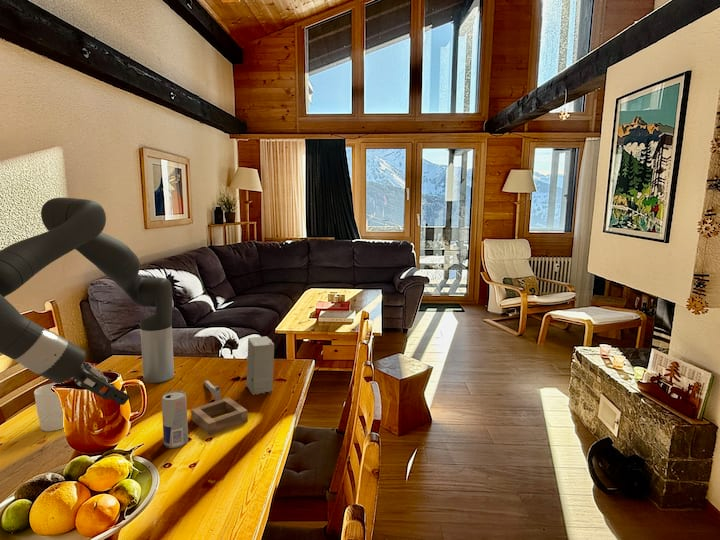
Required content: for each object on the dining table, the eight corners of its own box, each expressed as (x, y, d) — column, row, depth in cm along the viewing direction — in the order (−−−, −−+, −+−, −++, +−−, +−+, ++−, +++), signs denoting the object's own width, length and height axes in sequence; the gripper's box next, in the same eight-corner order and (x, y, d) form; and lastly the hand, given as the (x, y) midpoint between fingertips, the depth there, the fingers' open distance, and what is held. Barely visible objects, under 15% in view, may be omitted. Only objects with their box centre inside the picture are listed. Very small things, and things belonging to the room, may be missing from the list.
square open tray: (191, 419, 112) (191, 409, 112) (228, 407, 120) (228, 397, 119) (209, 435, 105) (209, 424, 104) (247, 420, 112) (247, 410, 112)
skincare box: (246, 385, 134) (244, 337, 132) (268, 381, 137) (267, 334, 135) (252, 396, 127) (251, 345, 124) (275, 392, 130) (275, 342, 128)
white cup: (30, 429, 106) (26, 391, 105) (61, 415, 114) (58, 379, 112) (51, 435, 104) (48, 397, 102) (82, 420, 111) (79, 384, 110)
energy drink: (168, 437, 104) (166, 390, 102) (191, 436, 104) (189, 390, 103) (160, 449, 99) (157, 400, 97) (184, 448, 99) (181, 400, 97)
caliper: (221, 409, 119) (220, 388, 118) (217, 410, 118) (216, 389, 117) (207, 383, 136) (206, 364, 135) (204, 383, 136) (203, 365, 135)
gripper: (73, 348, 78) (143, 389, 88) (58, 331, 88) (123, 370, 98) (41, 383, 75) (117, 421, 85) (29, 362, 85) (98, 398, 95)
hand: (120, 394), depth 91 cm, fingers open, 8 cm apart
